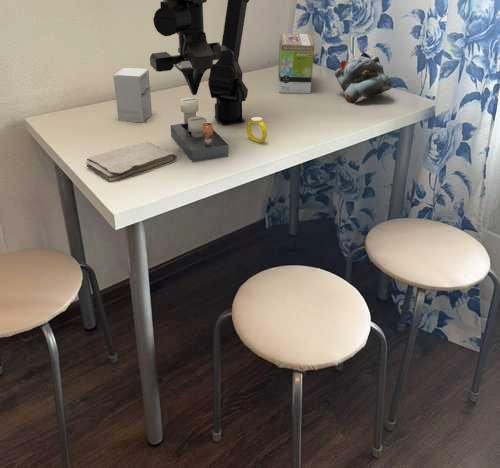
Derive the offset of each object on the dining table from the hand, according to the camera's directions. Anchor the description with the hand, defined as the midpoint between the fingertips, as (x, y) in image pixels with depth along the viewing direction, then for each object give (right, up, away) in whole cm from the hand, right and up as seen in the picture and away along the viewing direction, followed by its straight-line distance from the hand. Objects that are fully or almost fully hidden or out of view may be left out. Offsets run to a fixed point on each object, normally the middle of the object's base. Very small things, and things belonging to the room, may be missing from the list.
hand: (194, 94), depth 138 cm
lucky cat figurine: (+47, +8, +37) cm, 60 cm away
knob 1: (-2, -5, +7) cm, 9 cm away
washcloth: (-14, -18, -4) cm, 23 cm away
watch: (+15, -10, +8) cm, 20 cm away
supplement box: (-18, -1, +22) cm, 28 cm away
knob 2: (+1, -10, +5) cm, 11 cm away
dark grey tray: (+1, -12, +5) cm, 12 cm away
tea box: (+27, +14, +46) cm, 55 cm away
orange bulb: (+3, -12, -2) cm, 13 cm away
